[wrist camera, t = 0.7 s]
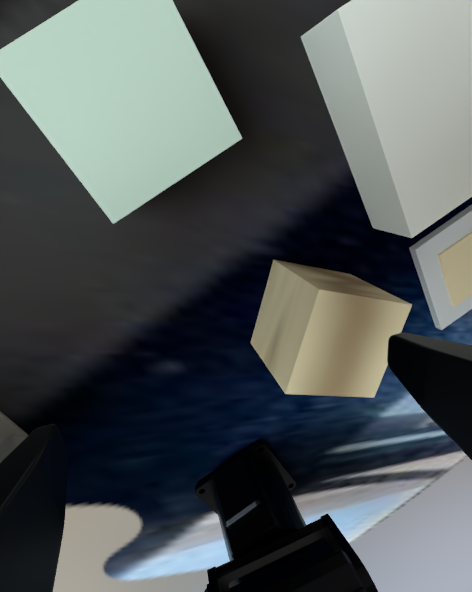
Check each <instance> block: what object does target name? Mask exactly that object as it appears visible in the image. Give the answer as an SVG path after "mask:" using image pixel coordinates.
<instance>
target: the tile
mask: <svg viewBox="0 0 472 592" xmlns="http://www.w3.org/2000/svg"><path fill="white" fill-rule="evenodd" d="M409 249H410V252H411V255H412V258H413V261H414V264H415V267H416V270H417V273H418V276H419V279H420V282H421V285H422V288H423V291H424V294H425V297H426V300H427V303H428V306H429V309H430V312H431V315H432V318H433V321H434V324H435V327H436V328H438V329H440V330H443V329H444V328H445V327H447V326H448V325H450V324H451V323H452V322H454V321H455V320H457V319H458V318H459V317H461V316H462V315H464V314H465V313H466V312H468V311H469V310H471V309H472V205H470V206H469V207H467V208H466V209H464V210H463V211H462V212H460V213H459V214H457V215H456V216H454V217H453V218H451V219H450V220H449V221H447V222H446V223H444V224H443V225H441V226H440V227H438V228H437V229H436V230H434V231H433V232H431V233H430V234H428V235H427V236H425V237H424V238H423V239H421V240H420V241H418V242H417V243H415V244H414V245H412V246H411V247H410V248H409Z"/></svg>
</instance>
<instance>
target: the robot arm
mask: <svg viewBox="0 0 472 592" xmlns="http://www.w3.org/2000/svg"><path fill="white" fill-rule="evenodd" d="M387 362H388V365H389V368H390V369H391V370H392V372H393V373H394V374H395V375H396V377H397V378H398V379H399V380H400V382H401V383H402V384H403V385H404V387H405V388H406V389H407V390H408V392H409V393H410V394H411V395H412V397H413V398H414V399H415V400H416V402H417V403H418V404H419V405H420V406H421V408H422V409H423V410H424V411H425V412H426V413H427V414H428V415H429V416H430V418H431V419H432V420H433V421H434V422H435V423H436V424H437V425H438V426H439V427H440V428H441V429H442V430H443V431H444V432H445V433H446V434H447V435H448V436H449V437H450V438H451V439H452V440H453V441H454V442H455V443H456V444H457V445H458V447H459V448H460V449H461V450H462V451H463V452H464V453H465V454H466V455H467V456H468V457H469V458H470V459H471V460H472V345H467V344H461V343H456V342H451V341H446V340H441V339H435V338H430V337H425V336H420V335H415V334H410V333H399V334H395V335H392V336H390V338H389V340H388V355H387ZM260 447H261V448H260ZM67 473H68V452H67V449H66V446H65V443H64V441H63V438H62V435H61V433H60V430H59V428H58V426H57V425H56V424H50V425H46V426H42V427H38V428H36V429H35V430H34V431H33V432H32V433H31V434H29V435H28V436H27V437H26V438H25V439H24V440H23V441H22V442H21V443H20V444H19V445H18V446H17V447H16V448H15V449H14V450H13V451H12V452H11V453H10V454H9V455H8V456H7V457H6V458H5V459H4V460H3V461H1V462H0V592H53V586H54V581H55V575H56V569H57V564H58V558H59V553H60V547H61V541H62V535H63V528H64V519H65V505H66V489H67ZM295 487H296V482H295V480H294V478H293V477H292V476H291V475H290V473H289V472H288V471H287V470H286V468H285V467H284V466H283V465H282V463H281V462H280V461H279V460H278V458H277V457H276V456H275V455H274V453H273V452H272V451H271V450H270V449H269V447H268V446H267V445H266V444H265V442H263V441H258V442H256V443H255V444H253V445H252V446H250V447H249V448H248V449H246V450H245V451H243V452H242V453H241V454H239V455H238V456H236V457H235V458H233V459H232V460H231V461H229V462H228V463H226V464H225V465H224V466H222V467H221V468H219V469H218V470H216V471H215V472H214V473H212V474H211V475H209V476H208V477H207V478H205V479H204V480H202V481H201V482H199V483H198V484H197V485H196V486H195V492H196V495H197V496H198V497H199V498H200V499H201V500H203V501H204V502H205V503H206V504H207V505H208V506H209V507H210V508H211V509H212V510H213V511H215V512H216V513H217V514H218V516H219V520H220V524H221V528H222V532H223V536H224V540H225V544H226V548H227V552H228V556H229V559H230V561H229V562H227V563H225V564H223V565H221V566H219V567H217V568H216V567H213V568H211V569H208V570H207V572H208V579H209V584H207V588H206V590H205V592H378V591H377V589H376V587H375V585H374V583H373V581H372V579H371V577H370V575H369V573H368V571H367V570H366V568H365V566H364V565H363V563H362V562H361V560H360V559H359V557H358V556H357V554H356V553H355V552H354V550H353V549H352V548H351V546H350V544H349V543H348V542H347V540H346V539H345V537H344V536H343V535H342V533H341V532H340V530H339V529H338V527H337V526H336V525H335V523H334V522H333V520H332V519H331V518H330V516H329V515H328V514H326V515H324V516H322V517H321V519H319V520H317V521H315V522H312V523H310V524H308V525H306V524H305V522H304V520H303V518H302V516H301V514H300V511H299V509H298V507H297V505H296V503H295V501H294V499H293V497H292V495H291V493H290V491H291V490H293V489H294V488H295Z"/></svg>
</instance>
